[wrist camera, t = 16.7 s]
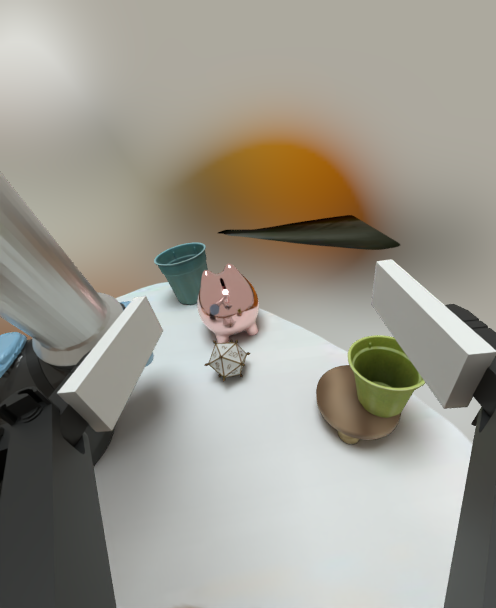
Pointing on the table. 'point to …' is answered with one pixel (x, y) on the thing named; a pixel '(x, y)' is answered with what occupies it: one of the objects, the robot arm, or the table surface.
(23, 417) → the robot arm
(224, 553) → the table surface
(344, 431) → the stand
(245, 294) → the piggy bank
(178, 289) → the flower pot
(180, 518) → the table surface
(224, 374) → the game die
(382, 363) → the plant pot
